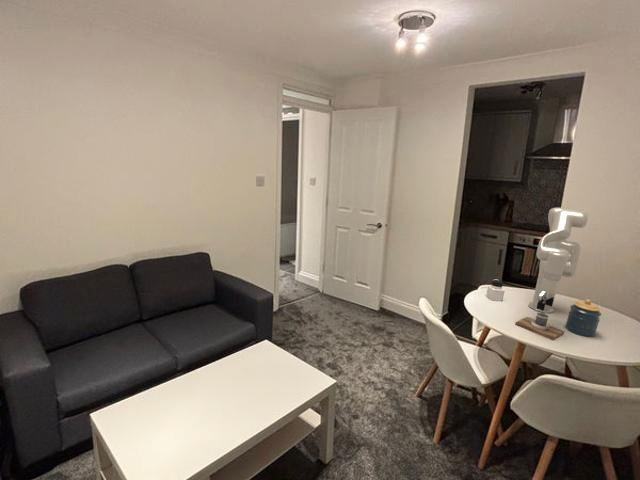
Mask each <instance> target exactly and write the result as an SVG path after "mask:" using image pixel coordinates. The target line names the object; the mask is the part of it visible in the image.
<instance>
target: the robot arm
mask: <svg viewBox="0 0 640 480" xmlns="http://www.w3.org/2000/svg"><path fill="white" fill-rule="evenodd" d="M547 217H548V218H547V221H548V226H549V232H548V233H546V234H544V236H542V237H541V238H540V240H539V242H538V244H537V250H536V258H537V259H538V260H540V261H539V268H538V270H539V271H538V275H537V276H538V277H537V280H536V285H535V289H534V294H533V298H532V302H529V303H528V307H529V308H531V309H532V310H534V311H537V312H539V313H543V314H552V313H553V312H554V308H552V307H553V305H554V300H555V296H556V294H557V291H558V289H559V288H558V286H559V282H561V280H562V277H565V278H573V277H574V276H575V275H576V272H577V268H578V264H579V259H580V254H581V245H580V243H578V242H576V241H571V240H567V239H568V238H569V237H571V232H572V228H579V229H583V228H585V227H586V225H587V223H588V214H587V212H586V211H585V210H583V209H581V210H580V209H573V208H567V207H566V208H565V207H552V208H550V209H549V211H548V215H547Z"/></svg>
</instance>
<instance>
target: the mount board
mask: <svg viewBox="0 0 640 480" xmlns="http://www.w3.org/2000/svg"><path fill="white" fill-rule="evenodd" d="M515 326H518V327H520V328H523V329H525V330H528V331H530V332H532V333H535V334H537V335H539V336H542V337H543V338H545V339H549V340H551V341H554V340H556V339H558V338H560V337H561V336H563V335H564V334H565V331H564V330H562V329H559V328H557V327H554V326H551V325H549V323H547V324H546V326H540V325H537V324H536V323H535V319H533V318H532V317H529V316H526V317H524V318H522V319H519V320H517V321H516V322H515Z"/></svg>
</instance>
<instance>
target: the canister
mask: <svg viewBox="0 0 640 480" xmlns="http://www.w3.org/2000/svg"><path fill="white" fill-rule="evenodd" d="M569 307H570V310H569V311H568V315H567V318H566V322H565V329H567V330H568V331H569V332H571V333H574V334H576V335H579V336H583V337H588V338H589V337H594V336H596V334H597V329H598V326H599V322H600V317H601V315H602V312H600V311H601V307H599V306H598V305H597V304H596V303H593V302H592V300H591V299H588V298H587V299H585V300H581V299H580V300H575V301H573V304H571V305H570V306H569Z"/></svg>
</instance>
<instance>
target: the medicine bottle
mask: <svg viewBox="0 0 640 480" xmlns="http://www.w3.org/2000/svg"><path fill="white" fill-rule="evenodd" d="M503 285H504V282H503V281H502V280H500V279H492V280H491V284H490V285H487V289H486V294H485V296H486V297H487V298H488V299H489V300H490V301H493V302H495V301H496V302H503V299H504V295H505V289H504V288H503Z"/></svg>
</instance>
